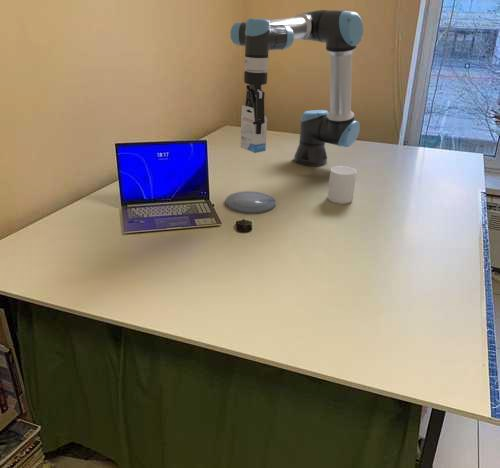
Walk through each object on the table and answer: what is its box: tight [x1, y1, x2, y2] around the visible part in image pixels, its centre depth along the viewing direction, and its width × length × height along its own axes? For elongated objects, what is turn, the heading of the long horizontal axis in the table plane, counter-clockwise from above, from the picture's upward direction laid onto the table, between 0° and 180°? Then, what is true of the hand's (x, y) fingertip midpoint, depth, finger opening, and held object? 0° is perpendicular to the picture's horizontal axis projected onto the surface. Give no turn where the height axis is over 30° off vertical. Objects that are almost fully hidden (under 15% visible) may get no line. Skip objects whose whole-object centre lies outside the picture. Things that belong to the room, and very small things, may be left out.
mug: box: [327, 165, 357, 205], centre depth 181 cm, size 10×12×12 cm
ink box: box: [239, 104, 268, 154], centre depth 164 cm, size 8×5×15 cm, turn 39°
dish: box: [225, 190, 276, 215], centre depth 176 cm, size 18×18×1 cm
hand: (253, 139), depth 166 cm, fingers closed on ink box, 9 cm apart
